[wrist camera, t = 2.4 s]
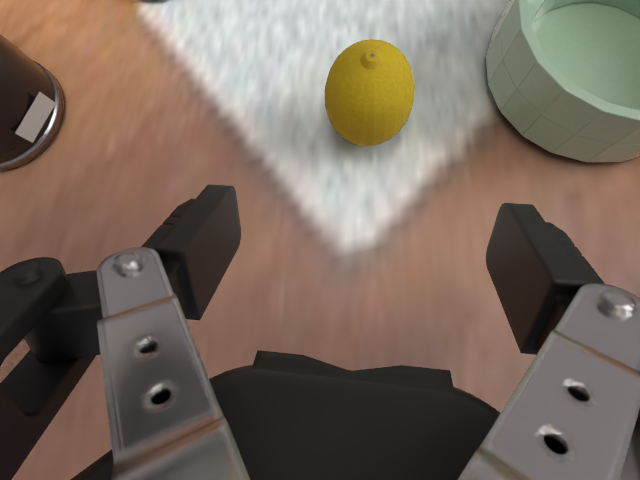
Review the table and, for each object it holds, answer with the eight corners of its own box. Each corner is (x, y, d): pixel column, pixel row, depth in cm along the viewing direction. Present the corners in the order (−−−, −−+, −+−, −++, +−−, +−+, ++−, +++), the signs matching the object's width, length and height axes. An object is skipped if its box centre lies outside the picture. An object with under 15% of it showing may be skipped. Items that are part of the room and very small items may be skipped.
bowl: (443, 58, 28) (467, -10, 22) (592, -44, 29) (653, -136, 23) (578, 205, 25) (646, 172, 19) (740, 88, 26) (854, 22, 20)
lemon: (329, 165, 27) (320, 105, 19) (328, 95, 28) (319, 12, 21) (406, 162, 27) (429, 99, 19) (402, 91, 28) (422, 5, 20)
